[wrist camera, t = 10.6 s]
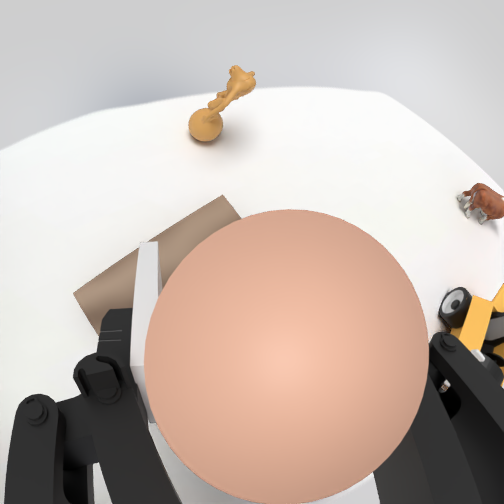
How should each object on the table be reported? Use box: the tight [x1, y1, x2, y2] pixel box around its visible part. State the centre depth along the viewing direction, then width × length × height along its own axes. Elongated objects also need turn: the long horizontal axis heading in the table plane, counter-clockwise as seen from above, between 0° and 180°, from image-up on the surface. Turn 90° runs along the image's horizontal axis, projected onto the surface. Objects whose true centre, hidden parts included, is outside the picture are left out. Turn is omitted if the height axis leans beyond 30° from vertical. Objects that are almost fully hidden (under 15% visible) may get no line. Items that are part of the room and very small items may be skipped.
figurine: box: [189, 65, 256, 141], centre depth 30 cm, size 8×6×12 cm
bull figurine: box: [458, 183, 504, 224], centre depth 41 cm, size 4×13×8 cm, turn 74°
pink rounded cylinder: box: [144, 209, 429, 504], centre depth 10 cm, size 5×5×12 cm
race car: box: [439, 283, 504, 387], centre depth 30 cm, size 15×15×11 cm
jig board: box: [73, 195, 241, 336], centre depth 27 cm, size 22×18×4 cm
